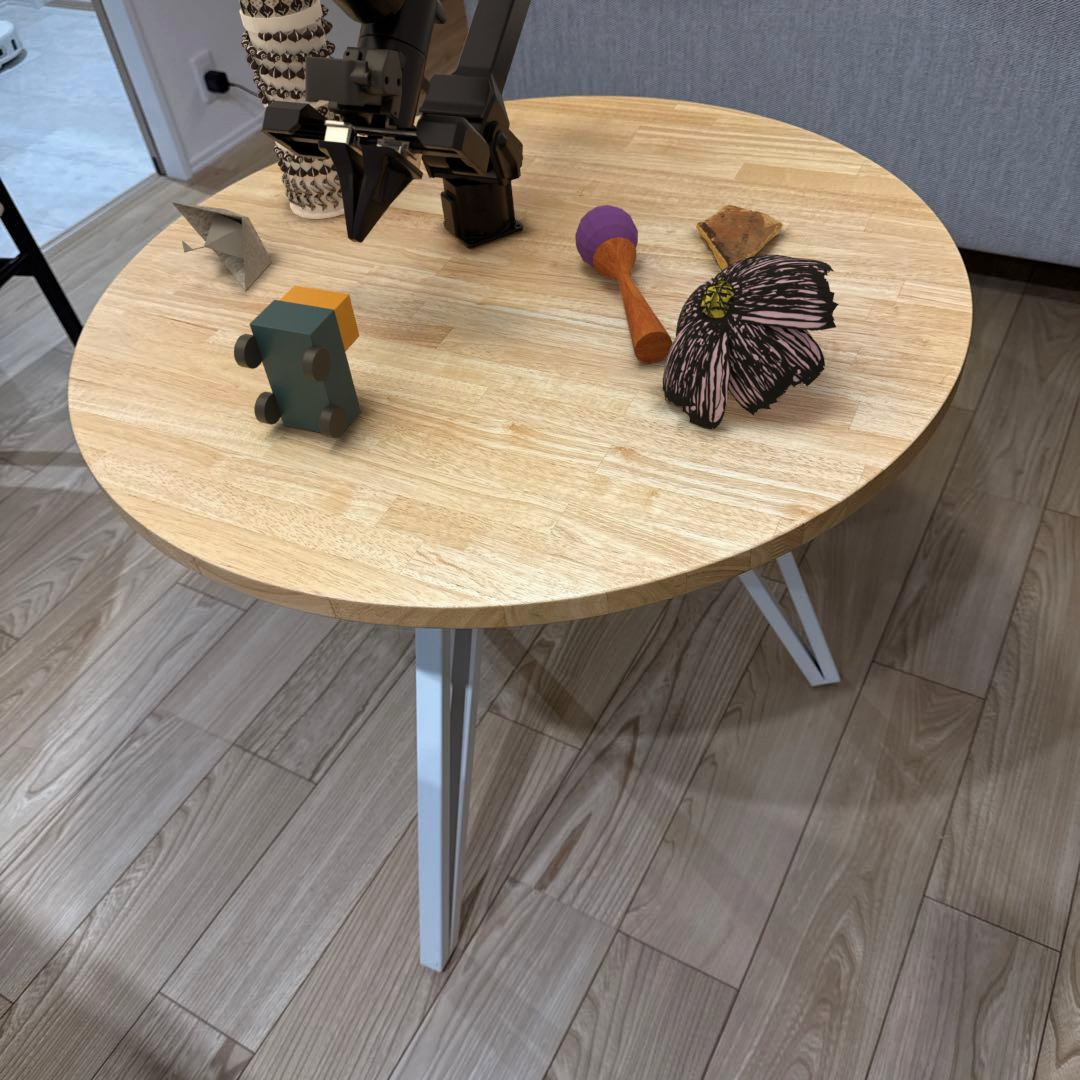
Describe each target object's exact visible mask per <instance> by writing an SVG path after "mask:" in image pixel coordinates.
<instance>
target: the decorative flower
mask: <svg viewBox="0 0 1080 1080" xmlns="http://www.w3.org/2000/svg"><path fill="white" fill-rule="evenodd" d="M830 272H835V270H834V269H833V267H832V266H831V265H830V264H829V263H828V262H825V261H821V260H817V259H811V258H805V257H792V256H787V255H779V254H762V255H755V256H753V257H749V258H744V259H742V260H740V261H737V262H735V263H733V264H731V265H730V266H728V267H726V268H724V269H723V270H722V269H721V271H719V272H718V273H716V275H715V276H714V277H711V278H710V279H708V280H706V281H705V282H704V283H702V284H700V285H699V286H698V287H696V288H695V290H693V292H692V293H691V294H690V295H689V297H688V298H687V299H686V301H685V302H684V304H683V306H682V307H681V311H680V312H679V315H678V319H677V323H676V328H675V330H676V331H675V338H674V340H672V345H671V347H670V350H669V352H668V355H667V356H666V357H665V358H666V359H665V363H664V369H663V375H662V391H663V394H664V400H665V401H668V404H669V405H671V404H673V405H674V406H675V407H678V408H679V407H680V408H682V409H681V411H682V413H684V414H685V415H687V417H688V419H689V423H690V424H692V425H695V426H697V427H700V428H703V429H705V430H706V429H708V430H711V431H712V430H715V429H717V427H719V426H720V424H721V423H722V421H723V419H724V417H725V413H726V408H727V406H728V402H729V401H728V400H729V394H730V395H731V397H732V398H733V399H734V400H735V401H736V403H738V405H739V406H740V407H741V408H742V409H743V410H745V411H746V412H748V413H749V414H750V415H752V416H753V417H754V416H755V414H756V413H758V411H759V410H769V411H771V410H772V407H771V405H774V404H777V403H779V400H778V399H779V398H780V397H781V396H783V395H784V394H785V393H787V391H788V390H789V387H791V386H792V387H793V388H796V387H797V386H798V385H805V387H807V388H808V387H809V386H810V385H811V384H812V383H814V381H815V380H816V379H818V378H819V377H820V375H821V373H822V372H824V371H825V370H826V369H825V367H826V362H825V355H824V353H823V350H822V348H821V347H820V345H819V344H818V342H817V341H816V340H815V339H814V338H813V336H812V335H811V333H810V332H815V331H816V332H818V331H825V330H830V329H835V328H837V326H836V322H835V321H836V320H835V318H834V311H835V310H836V309H837V307H838V306H839V303H837V302H835V301H834V299H835V298H834V297H835V295H836V294H835V292H833V291H831V288H830V284H829V283H830V282H829V280H827V278H826V277H827V276H828V274H829V273H830ZM825 276H826V277H825ZM809 331H810V332H809Z"/></svg>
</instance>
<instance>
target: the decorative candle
mask: <svg viewBox="0 0 1080 1080" xmlns="http://www.w3.org/2000/svg"><path fill="white" fill-rule="evenodd" d="M238 3H239V7H240V9H239V11H238V12H239V16H240V20H241V23H242V26H243V27H244V29H245V31H244V32H243V33H242V35H241V42H240V43H241V46H242V47H243V48H244V49H245V52H246V54H247V55H246V56H245V61H246V62H247V63H248V65H249V68H250V69H251V70H253V75H254V76H253V77H252V81H253V83H254V84H255V85H256V88H257V90H258V91H257V93H256V96H257V97H258V98H259V99H260V103H261V104H262V106H263V107H264V109H266V107H267V106H268V105H270V104H271V103H272V102H274V101H284V102H296V103H307V104H310V105H311V106H312V107H314V108H315V109H316V110H317V111H319V112H320V113H321V114H322V115H324V116H325V117H326V118H328V119H329V120H333V121H342V120H343V116H341V115H340V114H335V113H333V112H332V111H331V110H330V109H328V104H329V101H324V100H319V101H318V102H308V101H305V57H322V58H334V57H333V56H332V55H333V54H334V53H335V50H336V44H335V43H334V42H331V41H330V40H328V39H326V36H327V35H329V34H330V33H331V30H332V29H333V27H334V26H333V24H332V22H330V21H328V20H327V19H325V17H326V16H327V15H328V13H329V10H330V9H329V8H328V7H326V6H325V4H323V3H321V0H238ZM274 143H275V146H274V147H273V152H274V153H275V155H276V157H277V158H278V161H277V166H278V167H279V170H280V171H281V172H283V174H282V175H281V182H282V184H283V186H284V188H285V196H286V198H287V199H288V201H289V207H290V209H291V211H292V213H293V214H294V215H296V216H298V217H300V218H303V219H311V220H323V219H332V218H335V217H338V216H339V217H340V216H342V215H343V216H344V215H345V214H344V207H343V199H342V192H341V187H340V182H339V178H338V174H337V170H336V168H335V165H334V163H333V161H332V159H331V158H329V159H328V160H325V159H316V158H307V157H301V156H298V155H295V154H293V153H292V152H290V151H289V150H288V149H286V148H285V147H283V146H282V145H280V144H279V143H277V142H276V141H274Z"/></svg>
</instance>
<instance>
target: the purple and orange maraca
mask: <svg viewBox="0 0 1080 1080" xmlns="http://www.w3.org/2000/svg"><path fill="white" fill-rule="evenodd" d="M574 234H575V247H576V249H577V252H578V254H579V256H580V258H581V260H582V261H583V262H584V263H585V264H587V265H589V267H592V268H593V269H595V270H596V272H597V273H599V274H600V275H601V276H604V277H606V278H608V279H610V280H612V281H614V282H617V283H618V286H619V290H620V295H621V301H622V304H623V308H624V314H625V316H626V317H625V318H626V321H627V326H628V331H629V335H630V340H631V343H632V348H633V354H634V356H635V357H636V359H637V360H638V361H640V362H641V363H644V364H653V363H658V362H659V361H662V360H663V359H665V358H667V355H668V352H669V350H670V347H671V345H672V343H673V340H672V337H671V336H670V334H669V333H668V331H667V329H666V328H665V326H664V325H663V324H662V322H661V321H660V320H659V318H658V316H657V314H656V313H655V312H654V310H653V309H652V308H651V306H650V304H649V303H648V301H647V300H646V299H645V296H643V294H642V292H641V290H640V289H639V288H638V286H637V285H636V284H635V281H633V279H632V277H631V275H632V272H633V269H634V267H635V266H634V265H635V263H636V260H637V247H638V242H639V229H638V228H637V226H636V224H635V222H634V219H633V217H632V216H631V214H629V213H628V212H627V211H625V210H624V209H623V208H620V207H618V206H614V205H610V204H604V205H599V206H596V207H594V208H592V209H590V210H588V211H587V212H586V213H585V214H584V215H583V216H582V217H581V219H580V221H579V224H578V226H577V228H576V231H575V233H574Z"/></svg>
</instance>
